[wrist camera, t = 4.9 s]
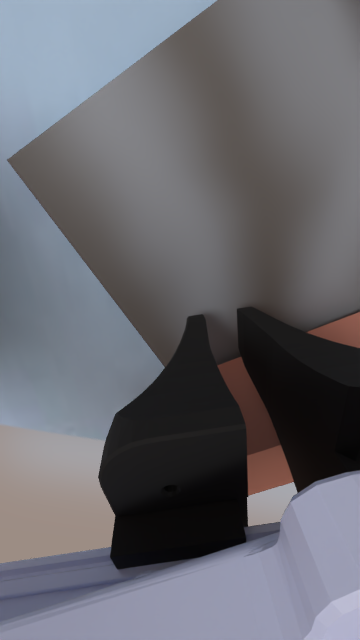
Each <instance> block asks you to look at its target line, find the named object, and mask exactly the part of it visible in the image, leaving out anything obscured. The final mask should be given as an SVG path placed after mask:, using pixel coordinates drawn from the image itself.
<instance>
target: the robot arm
mask: <svg viewBox="0 0 360 640" xmlns="http://www.w3.org/2000/svg"><path fill="white" fill-rule="evenodd" d="M237 329H238V349H239V352H240V355H241V357H242V360H243V363H244V366H245V368H246V370H247V372H248V374H249V376H250V378H251V380H252V382H253V384H254V386H255V388H256V390H257V392H258V393H259V395H260V397H261V399H262V401H263V403H264V405H265V407H266V409H267V411H268V414H269V416H270V418H271V421H272V423H273V426H274V428H275V431H276V433H277V436H278V439H279V441H280V444H281V447H282V449H283V452H284V455H285V458H286V460H287V463H288V466H289V469H290V472H291V475H292V477H293V480H294V483H295V486H296V489H297V492H298V493H297V494H296V495H294V496H293V497H292V499H291V501H290V503H289V505H288V506H287V508H286V510H285V512H284V514H283V516H282V518H281V522H276V523H269V524H263V525H256V526H250V527H248V517H247V497H248V468H247V432H246V424H245V421H244V418H243V415H242V412H241V410H240V407H239V405H238V403H237V402H236V400H235V399H234V397H233V395H232V394H231V392H230V390H229V388H228V387H227V385H226V383H225V381H224V379H223V377H222V375H221V373H220V371H219V368H218V366H217V364H216V361H215V359H214V356H213V354H212V351H211V348H210V344H209V338H208V332H207V325H206V319H205V317H204V315H203V314H199V315H193V316H189V317H188V318H187V322H186V327H185V330H184V333H183V336H182V338H181V341H180V343H179V345H178V347H177V349H176V351H175V353H174V355H173V357H172V358H171V360H170V361H169V363H168V364H167V366H166V367H165V369H164V370H163V371H162V372H161V374H160V375H159V376H158V377H157V379H156V380H155V381H154V382H153V383H152V384H151V385H150V386H149V387H148V388H147V389H146V390H145V391H144V392H143V393H142V394H140V395H139V396H138V397H137V398H136V399H134V400H133V401H132V402H131V403H129V404H128V405H127V406H125V407H124V408H123V409H122V410H120V411H119V412H117V413H116V414H115V417H114V419H113V422H112V425H111V427H110V430H109V433H108V436H107V438H106V442H105V446H104V450H103V455H102V460H101V466H100V471H99V476H98V478H99V482H100V485H101V488H102V490H103V492H104V494H105V496H106V498H107V500H108V502H109V504H110V506H111V508H112V510H113V512H114V514H115V523H114V531H113V538H112V545H111V547H108V548H101V549H95V550H88V551H81V552H75V553H68V554H61V555H54V556H48V557H41V558H34V559H28V560H21V561H14V562H7V563H0V640H360V348H357V347H353V346H349V345H345V344H341V343H337V342H334V341H330V340H327V339H324V338H321V337H318V336H315V335H312V334H309V333H307V332H304V331H302V330H300V329H297V328H295V327H292V326H290V325H288V324H286V323H284V322H282V321H279V320H277V319H275V318H273V317H271V316H270V315H268V314H266V313H264V312H262V311H260V310H258V309H256V308H253V307H244V308H238V309H237Z"/></svg>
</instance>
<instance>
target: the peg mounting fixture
mask: <svg viewBox="0 0 360 640" xmlns="http://www.w3.org/2000/svg"><path fill="white" fill-rule="evenodd" d="M7 161H8V162H9V163H10V165H11V166H12V167H13V169H14V170H15V171H16V173H17V174H18V175H19V177H20V178H21V179H22V180H23V182H24V183H25V184H26V186H27V187H28V188H29V190H30V191H31V192H32V194H33V195H34V196H35V197H36V199H37V200H38V201H39V203H40V204H41V205H42V207H43V208H44V209H45V211H46V212H47V213H48V215H49V216H50V217H51V218H52V220H53V221H54V222H55V224H56V225H57V226H58V228H59V229H60V230H61V232H62V233H63V234H64V235H65V237H66V238H67V239H68V241H69V242H70V243H71V245H72V246H73V247H74V249H75V250H76V251H77V253H78V254H79V255H80V256H81V258H82V259H83V260H84V262H85V263H86V264H87V266H88V267H89V268H90V270H91V271H92V272H93V273H94V275H95V276H96V277H97V279H98V280H99V281H100V283H101V284H102V285H103V287H104V288H105V289H106V291H107V292H108V293H109V294H110V296H111V297H112V298H113V300H114V301H115V302H116V304H117V305H118V306H119V308H120V309H121V310H122V311H123V313H124V314H125V315H126V317H127V318H128V319H129V321H130V322H131V323H132V325H133V326H134V327H135V329H136V330H137V331H138V332H139V334H140V335H141V336H142V338H143V339H144V340H145V342H146V343H147V344H148V346H149V347H150V348H151V349H152V351H153V352H154V353H155V355H156V356H157V357H158V359H159V360H160V361H161V363H162V364H163V365H164V367H166V366H167V364H168V363H169V361H170V360H171V358H172V357H173V355H174V353H175V351H176V349H177V347H178V345H179V343H180V341H181V338H182V336H183V333H184V330H185V327H186V322H187V318H188V317H189V316H193V315H199V314H203V315H204V317H205V319H206V325H207V332H208V338H209V344H210V348H211V351H212V354H213V356H214V359H215V361H216V364H217V365H220V364H223V363H225V362H228V361H231V360H233V359H236V358H239V357H241V355H240V352H239V349H238V329H237V309H238V308H244V307H253V308H256V309H258V310H260V311H262V312H264V313H266V314H268V315H270V316H271V317H273V318H275V319H277V320H279V321H282V322H284V323H286V324H288V325H290V326H292V327H295V328H297V329H300V330H302V331H304V332H308V331H310V330H313V329H316V328H318V327H321V326H324V325H326V324H329V323H332V322H334V321H337V320H340V319H342V318H345V317H348V316H350V315H353V314H356V313H358V312H360V0H217V1H216V2H215V3H213V4H212V5H211V6H210V7H208V8H207V9H206V10H204V11H203V12H202V13H200V14H199V15H198V16H196V17H195V18H194V19H192V20H191V21H190V22H188V23H187V24H186V25H184V26H183V27H182V28H180V29H179V30H178V31H177V32H175V33H174V34H173V35H171V36H170V37H169V38H167V39H166V40H165V41H163V42H162V43H161V44H159V45H158V46H157V47H155V48H154V49H153V50H151V51H150V52H149V53H148V54H146V55H145V56H144V57H142V58H141V59H140V60H138V61H137V62H136V63H134V64H133V65H132V66H130V67H129V68H128V69H126V70H125V71H124V72H122V73H121V74H120V75H119V76H117V77H116V78H115V79H113V80H112V81H111V82H109V83H108V84H107V85H105V86H104V87H103V88H101V89H100V90H99V91H97V92H96V93H95V94H93V95H92V96H91V97H89V98H88V99H87V100H86V101H84V102H83V103H82V104H80V105H79V106H78V107H76V108H75V109H74V110H72V111H71V112H70V113H68V114H67V115H66V116H64V117H63V118H62V119H60V120H59V121H58V122H57V123H55V124H54V125H53V126H51V127H50V128H49V129H47V130H46V131H45V132H43V133H42V134H41V135H39V136H38V137H37V138H35V139H34V140H33V141H31V142H30V143H29V144H28V145H26V146H25V147H24V148H22V149H21V150H20V151H18V152H17V153H16V154H14V155H13V156H12V157H10V158H9V159H8V160H7Z"/></svg>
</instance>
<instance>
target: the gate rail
mask: <svg viewBox="0 0 360 640" xmlns="http://www.w3.org/2000/svg"><path fill="white" fill-rule="evenodd" d="M307 333H309V334H312V335H315V336H318V337H321V338H324V339H327V340H330V341H334V342H337V343H341V344H345V345H349V346H353V347H357V348H360V312H358V313H356V314H353V315H350V316H348V317H345V318H342V319H340V320H337V321H334V322H332V323H329V324H326V325H324V326H321V327H318V328H316V329H313V330H310V331H308V332H307ZM217 366H218V368H219V371H220V373H221V375H222V377H223V379H224V381H225V383H226V385H227V387H228V388H229V390H230V392H231V394H232V395H233V397H234V399H235V400H236V402H237V403H238V405H239V407H240V410H241V412H242V415H243V418H244V421H245V424H246V432H247V468H248V496H249V495H252V494H255V493H259V492H262V491H265V490H268V489H271V488H275V487H278V486H282V485H285V484H288V483H292V482H294V480H293V477H292V475H291V472H290V469H289V466H288V463H287V460H286V458H285V455H284V452H283V449H282V447H281V444H280V441H279V439H278V436H277V433H276V431H275V428H274V426H273V423H272V421H271V418H270V416H269V414H268V411H267V409H266V407H265V405H264V403H263V401H262V399H261V397H260V395H259V393H258V392H257V390H256V388H255V386H254V384H253V382H252V380H251V378H250V376H249V374H248V372H247V370H246V368H245V366H244V363H243V360H242V357H239V358H236V359H233V360H231V361H228V362H225V363H223V364H220V365H217Z"/></svg>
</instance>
